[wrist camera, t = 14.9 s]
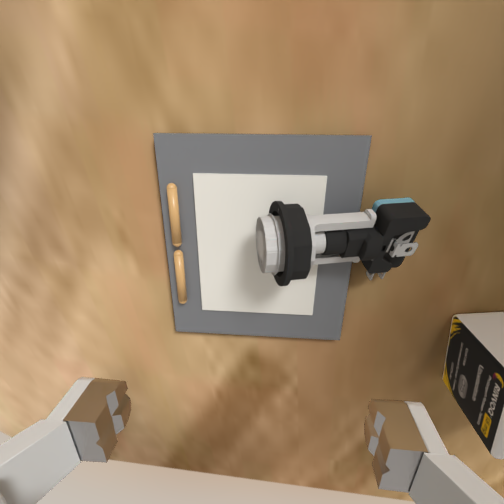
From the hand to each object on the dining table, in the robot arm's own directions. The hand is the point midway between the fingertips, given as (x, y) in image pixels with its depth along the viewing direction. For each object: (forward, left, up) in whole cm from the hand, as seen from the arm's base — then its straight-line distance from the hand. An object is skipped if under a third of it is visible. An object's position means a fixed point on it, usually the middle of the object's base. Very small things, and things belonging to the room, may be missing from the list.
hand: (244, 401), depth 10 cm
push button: (-10, -1, -13) cm, 16 cm away
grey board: (0, 0, -14) cm, 14 cm away
